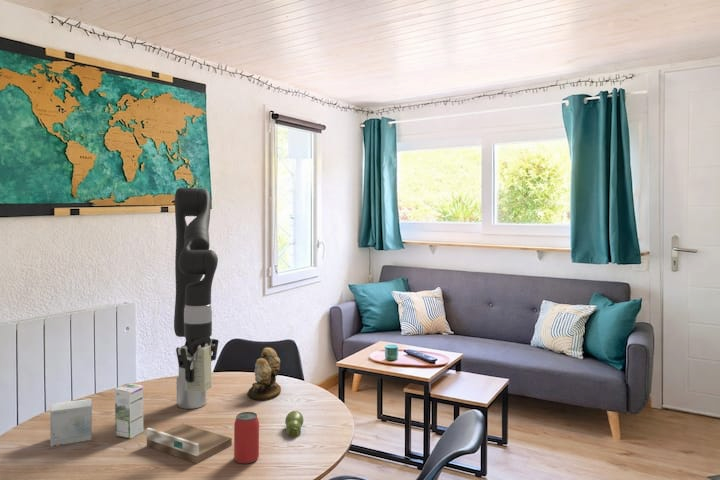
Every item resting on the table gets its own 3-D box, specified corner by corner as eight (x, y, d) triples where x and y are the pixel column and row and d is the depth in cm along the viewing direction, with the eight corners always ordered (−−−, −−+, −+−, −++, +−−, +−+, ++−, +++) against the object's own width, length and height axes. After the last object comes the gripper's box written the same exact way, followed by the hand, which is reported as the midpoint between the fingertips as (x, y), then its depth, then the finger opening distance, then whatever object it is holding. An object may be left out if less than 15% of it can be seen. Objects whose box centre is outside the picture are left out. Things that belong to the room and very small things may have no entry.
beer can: (236, 453, 143) (236, 411, 143) (260, 453, 144) (260, 410, 143) (232, 465, 137) (232, 420, 136) (257, 464, 137) (257, 420, 137)
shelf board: (145, 446, 147) (145, 429, 146) (182, 429, 158) (183, 413, 158) (195, 463, 137) (195, 445, 137) (231, 445, 148) (231, 428, 148)
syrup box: (144, 431, 156) (144, 384, 156) (129, 439, 151) (129, 390, 150) (129, 429, 158) (129, 382, 158) (114, 436, 153) (114, 388, 152)
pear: (304, 407, 163) (302, 425, 154) (303, 422, 164) (302, 441, 155) (286, 407, 163) (283, 425, 153) (286, 422, 164) (283, 441, 154)
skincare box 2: (212, 387, 148) (212, 345, 148) (204, 392, 144) (204, 349, 144) (191, 385, 150) (191, 344, 149) (183, 390, 145) (183, 347, 145)
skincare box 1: (50, 447, 145) (49, 410, 145) (51, 438, 151) (51, 403, 150) (92, 440, 150) (91, 404, 150) (92, 432, 156) (91, 397, 155)
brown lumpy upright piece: (253, 384, 202) (253, 341, 201) (283, 385, 202) (284, 342, 202) (244, 400, 184) (245, 353, 183) (277, 401, 184) (278, 354, 184)
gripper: (187, 326, 138) (187, 388, 139) (226, 317, 150) (225, 374, 151) (168, 322, 142) (168, 383, 142) (207, 314, 154) (207, 370, 155)
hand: (197, 378), depth 147 cm, fingers closed on skincare box 2, 5 cm apart
